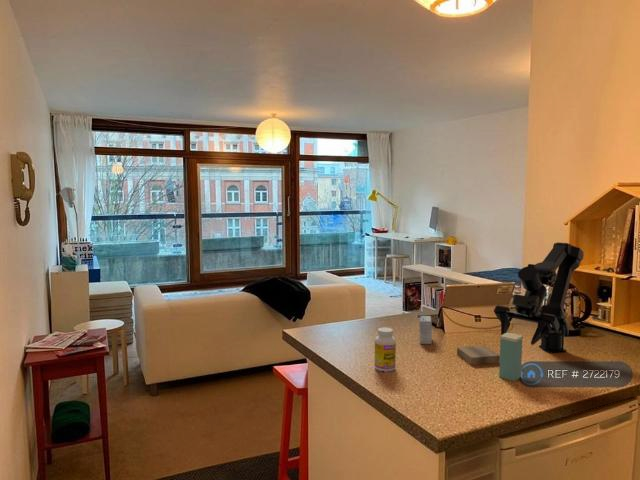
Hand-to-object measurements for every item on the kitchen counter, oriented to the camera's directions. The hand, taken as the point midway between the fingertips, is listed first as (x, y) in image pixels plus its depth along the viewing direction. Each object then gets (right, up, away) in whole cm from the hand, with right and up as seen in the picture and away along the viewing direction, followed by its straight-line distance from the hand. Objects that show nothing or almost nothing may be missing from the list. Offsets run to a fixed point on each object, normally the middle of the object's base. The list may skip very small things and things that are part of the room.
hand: (516, 340), depth 144 cm
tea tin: (-3, -11, -1) cm, 11 cm away
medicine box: (-21, -7, +33) cm, 40 cm away
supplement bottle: (-39, -10, +7) cm, 41 cm away
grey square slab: (-7, -9, +14) cm, 18 cm away
